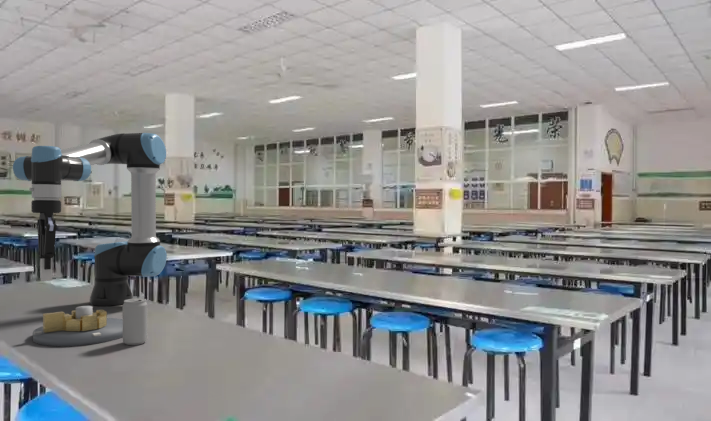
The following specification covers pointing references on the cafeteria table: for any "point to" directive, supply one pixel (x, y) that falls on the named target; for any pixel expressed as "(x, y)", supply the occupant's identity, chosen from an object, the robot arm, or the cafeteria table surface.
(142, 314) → the beverage can
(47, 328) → the ring nut
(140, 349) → the cafeteria table surface
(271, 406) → the cafeteria table surface
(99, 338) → the flange
